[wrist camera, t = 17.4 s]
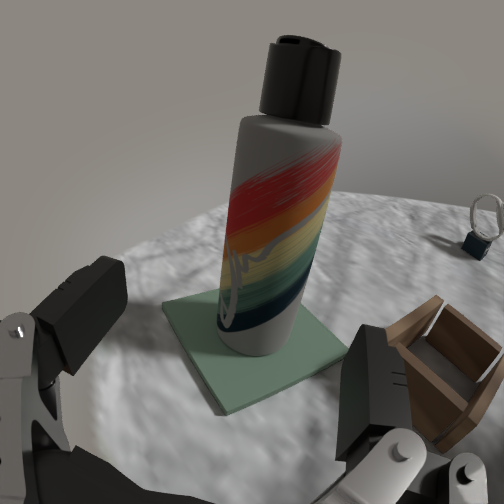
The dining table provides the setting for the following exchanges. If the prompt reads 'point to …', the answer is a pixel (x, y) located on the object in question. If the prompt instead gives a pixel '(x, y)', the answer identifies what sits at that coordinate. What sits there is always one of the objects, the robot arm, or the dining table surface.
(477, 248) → the watch
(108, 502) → the robot arm
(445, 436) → the walnut holder
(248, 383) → the sage mat
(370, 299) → the dining table surface
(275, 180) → the lotion bottle
